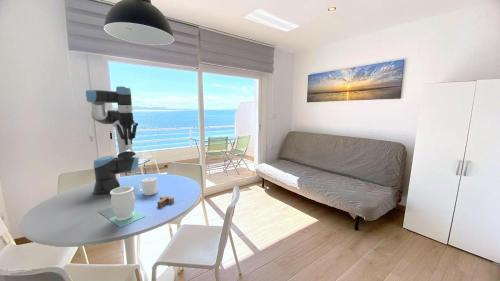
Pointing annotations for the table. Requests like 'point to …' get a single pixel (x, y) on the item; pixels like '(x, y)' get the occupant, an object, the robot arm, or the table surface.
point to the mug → (149, 186)
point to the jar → (123, 202)
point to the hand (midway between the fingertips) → (129, 149)
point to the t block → (165, 200)
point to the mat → (111, 216)
